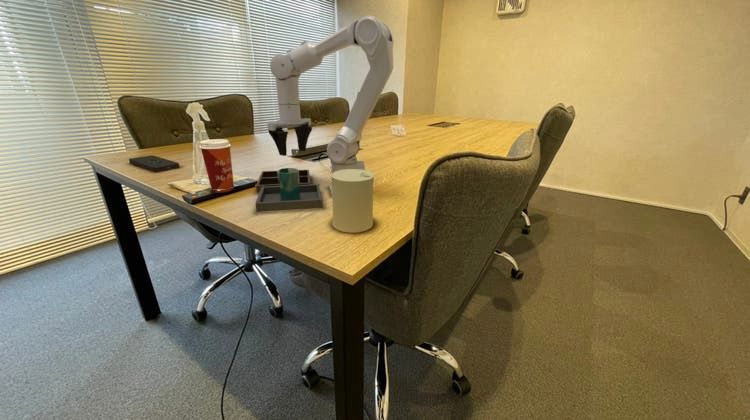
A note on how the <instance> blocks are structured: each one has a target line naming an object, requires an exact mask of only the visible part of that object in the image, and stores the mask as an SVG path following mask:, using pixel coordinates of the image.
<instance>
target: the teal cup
mask: <svg viewBox="0 0 750 420" xmlns="http://www.w3.org/2000/svg"><path fill="white" fill-rule="evenodd" d="M299 170H300V169H298V168H295V167H284V168H280V169H278V170H276V171H277V173H278V183H279V193H280V201H290V200H301V196H300V183H299Z"/></svg>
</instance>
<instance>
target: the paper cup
mask: <svg viewBox="0 0 750 420" xmlns="http://www.w3.org/2000/svg"><path fill="white" fill-rule="evenodd" d="M231 146H232V145H231V143H230V141H229V140H228V139H225V138H223V139H222V138H213V139H204V140H201V141H200V142H199V145H198V148H199V149H200V150H201V155H202V158H203V162H204V165H205V170H206V173H207V178H208V181H209V184H210V188H211V191H212V193H215V194H217V193H218V194H221V193H228V192H231V191H233V190H234V189H235V186H234V185H235V184H234V183H235V182H234V175H233V165H232V164H233V163H232V154H231ZM233 186H234V187H233ZM231 187H233V188H231ZM228 188H231V189H228ZM212 189H228V190H221V191H217V190H212Z"/></svg>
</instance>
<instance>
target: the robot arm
mask: <svg viewBox="0 0 750 420" xmlns="http://www.w3.org/2000/svg"><path fill="white" fill-rule="evenodd" d="M394 40H395V39H394V38H393V34H392V33H391V30H390V28H389V26H388V25H387V24H386V23H383V22H382V21H379V19H378V18H377V17H375V16H373V15H365V16H362V17H361V18H360V19H355V20H352V21H351V22H349V24H347V25H345V26H343V27H342V28H340V29H339V30H337V31H336V32H333V33H332V34H330V35H329V36H327V37H326V38H324V39H322V40H320V41H319V42H317V43H315V42H313V41H310V40H309V41H307V40H302V41H300V45H299V46H298V47H295V48H294V49H288V50H286V53H285V54H283V53H275V55H273V57H271V59H270V63H269V68H270V69H269V70H270V72H271V74H272V75H273V76H274V78H275V84H276V94H277V104H278V105H277V106H278V115H279V117H278V120H276V121H269V122H266V124H267V131H268V134H269V135H270V137H271V138H272V140H273V142H274V144H275V146H276V148H277V151H278V155H279V156H283V157H285V156H287V151H288V150H287V140H288V135H289V132H288V131H287V130H284V129H292V128H293V129H294V131H295V135H296V140H297V148H298V151H300V152H306V150H307V146H308V145H307V144H308V140H309V137H310V135H311V132H312V131H313V126H312V118H307V117H304V118H303V117H302V118H301V106H300V105H301V104H300V90H299V79H300V76H301V75H302V74H303V73H306V72H308V71H310V70H312V69H314V68H316V67H318V66H320V65H321V64H322V63H323V59H324V58H325V57H327V56H329V55H331V54H334V53H336V52H339V51H340V50H343V49H346V48H347V47H351V46H353V47H360V48H361V49H362V51H363V52H364V54H365V56H366V60H367V62H368V65H369V70H368V72H367V74H366V76H365V79H364V81H363V83H362V85H361V87H360V89H359V92H358V94H357V96H356V98H355V100H354V103H353V105H352V106H351V108H350V111H349V113H348V116H347V118H346V120H345V122H344V124H343V126H342V127H341V128H340V129H339V131H338V132H337V133H336V135H335V137H334V139H332V140H331V141H330V142H329V143H328V144H327V146H326V155H327V157H328V159H329V160H330V164H331V166H330V168H331V169H330V171H331V174H332V173H333V172H335V171H339V170H344V169H360V170H366V165H365V162H364V161H363V160H358V158H357V155H358V153H359V152H360V150H361V149H360V148H361V140H362V138H363V131H364V129H365V127H366V125H367V123H368V121H369V119H370V118H371V115H372V113H373V112H374V109H375V107H376V105H377V103H378V101H379V99H380V97H381V95H382V92H383V91H384V89H385V87H386V84H387V83H388V81H389V79H390V77H391V75H392V73H393V70H394V43H395V41H394ZM329 190H330V193H331V195H332V185H329Z"/></svg>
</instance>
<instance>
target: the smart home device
mask: <svg viewBox="0 0 750 420" xmlns="http://www.w3.org/2000/svg"><path fill="white" fill-rule="evenodd" d="M128 161H129V164H130V165H133V166H136V167H139V168H140V169H141V168H142V169H145V170H147V171H150V172H153V173H160V172H161V173H162V172H167V171H170V170H175V169H180V168H181V167H180V163H179V162H178V161H174V160H170V159H166V158H164V157H160V156H157V155H154V154H153V155H152V154H151V155H145V156H144V155H143V156H138V157H133V158H128Z"/></svg>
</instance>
